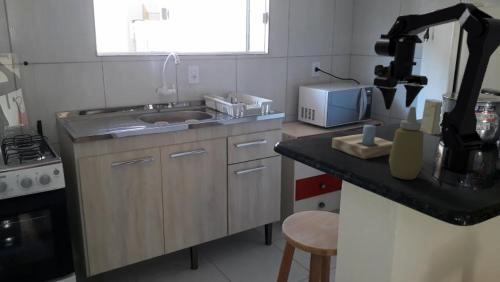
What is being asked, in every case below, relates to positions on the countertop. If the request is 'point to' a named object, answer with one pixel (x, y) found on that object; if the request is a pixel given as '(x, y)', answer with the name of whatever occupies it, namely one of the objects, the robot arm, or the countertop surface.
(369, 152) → the board
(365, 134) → the peg
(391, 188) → the countertop surface
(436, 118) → the skincare box
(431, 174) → the countertop surface
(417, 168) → the squeeze bottle
